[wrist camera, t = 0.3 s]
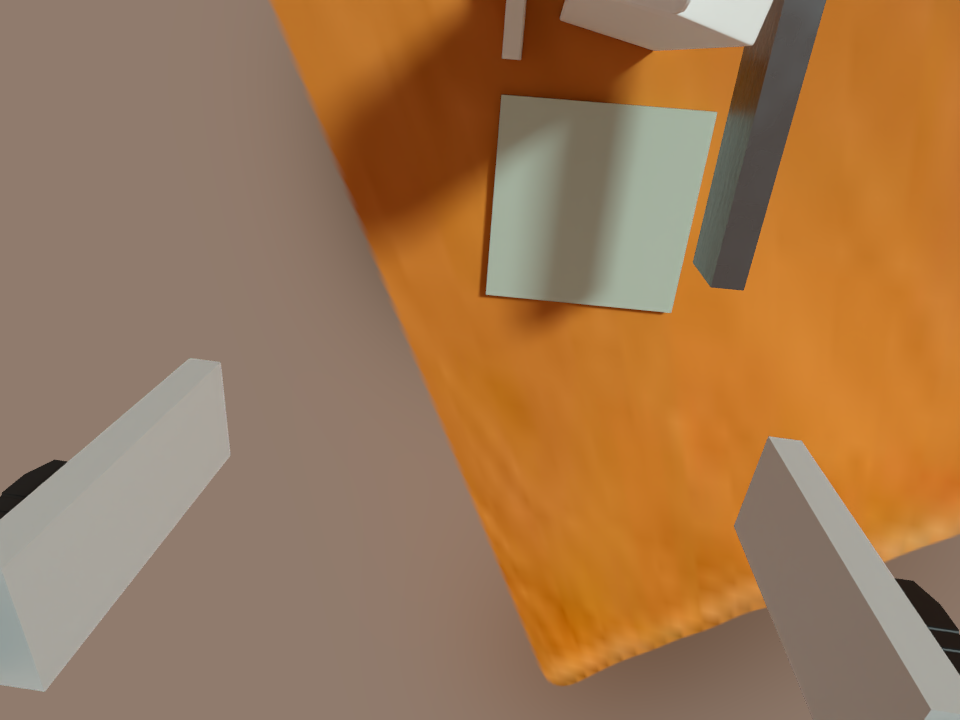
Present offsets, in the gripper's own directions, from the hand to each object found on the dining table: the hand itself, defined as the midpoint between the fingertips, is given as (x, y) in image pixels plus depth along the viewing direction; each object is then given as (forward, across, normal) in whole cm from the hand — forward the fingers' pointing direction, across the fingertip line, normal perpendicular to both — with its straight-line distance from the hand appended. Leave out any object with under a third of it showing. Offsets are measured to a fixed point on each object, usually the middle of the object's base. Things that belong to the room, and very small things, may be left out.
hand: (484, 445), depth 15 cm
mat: (+29, +5, 0) cm, 29 cm away
